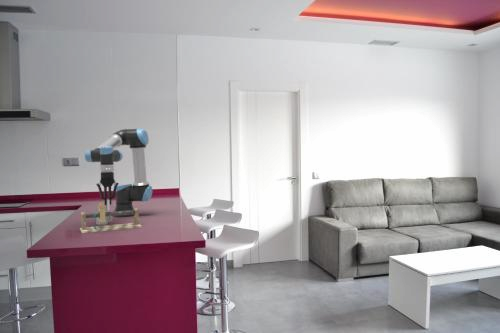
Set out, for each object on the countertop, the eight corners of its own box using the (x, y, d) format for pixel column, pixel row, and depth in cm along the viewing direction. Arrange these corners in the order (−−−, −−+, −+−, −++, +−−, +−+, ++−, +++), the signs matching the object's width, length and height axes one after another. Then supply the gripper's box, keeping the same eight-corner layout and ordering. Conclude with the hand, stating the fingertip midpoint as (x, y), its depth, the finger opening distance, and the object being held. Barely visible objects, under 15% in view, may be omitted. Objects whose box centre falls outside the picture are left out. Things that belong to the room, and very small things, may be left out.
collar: (100, 222, 229) (99, 204, 228) (98, 220, 236) (97, 202, 235) (105, 222, 230) (105, 203, 230) (103, 220, 237) (103, 202, 237)
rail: (82, 233, 222) (81, 214, 222) (80, 230, 233) (79, 211, 232) (141, 227, 239) (141, 209, 238) (136, 224, 249) (136, 207, 249)
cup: (96, 223, 254) (96, 210, 253) (112, 222, 257) (112, 209, 256) (95, 225, 247) (95, 211, 246) (112, 224, 250) (112, 211, 249)
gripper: (96, 172, 227) (97, 211, 228) (119, 171, 234) (120, 210, 234) (94, 171, 234) (95, 210, 235) (117, 171, 240) (118, 208, 241)
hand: (108, 210), depth 234 cm, fingers closed
